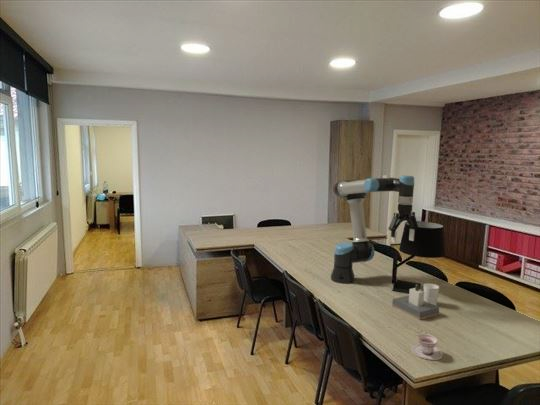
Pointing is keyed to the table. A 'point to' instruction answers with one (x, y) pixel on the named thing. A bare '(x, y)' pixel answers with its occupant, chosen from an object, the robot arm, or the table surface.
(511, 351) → the table surface
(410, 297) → the plug
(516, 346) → the table surface
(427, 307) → the socket box
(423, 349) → the teacup
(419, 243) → the table lamp
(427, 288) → the white cup
